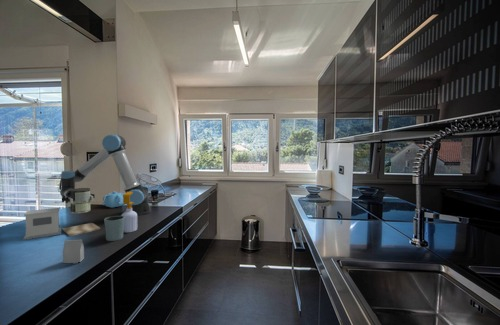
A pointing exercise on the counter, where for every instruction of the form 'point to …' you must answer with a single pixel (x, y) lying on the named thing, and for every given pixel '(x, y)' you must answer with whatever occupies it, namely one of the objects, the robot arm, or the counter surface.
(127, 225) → the spray bottle
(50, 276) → the counter surface
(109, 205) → the decorative pot
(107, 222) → the green tapered cup
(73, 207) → the coffee can
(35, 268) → the counter surface
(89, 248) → the counter surface
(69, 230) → the pad
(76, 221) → the counter surface
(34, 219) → the label unit
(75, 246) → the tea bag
